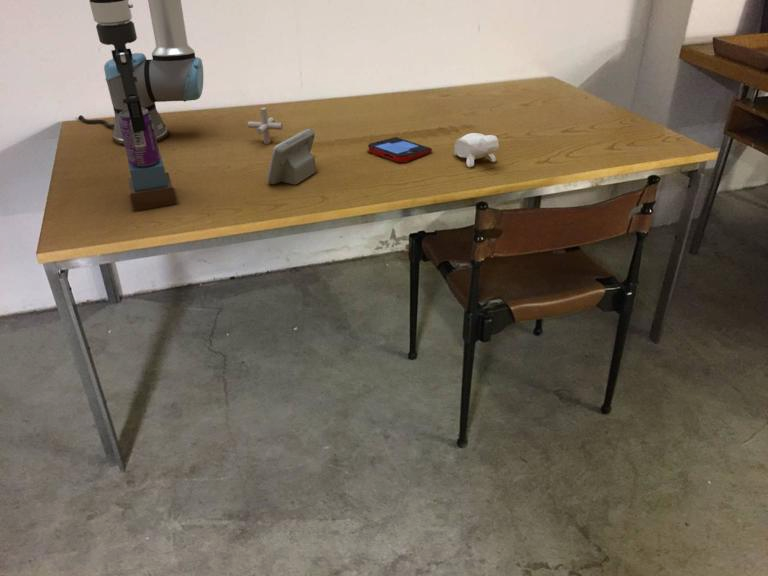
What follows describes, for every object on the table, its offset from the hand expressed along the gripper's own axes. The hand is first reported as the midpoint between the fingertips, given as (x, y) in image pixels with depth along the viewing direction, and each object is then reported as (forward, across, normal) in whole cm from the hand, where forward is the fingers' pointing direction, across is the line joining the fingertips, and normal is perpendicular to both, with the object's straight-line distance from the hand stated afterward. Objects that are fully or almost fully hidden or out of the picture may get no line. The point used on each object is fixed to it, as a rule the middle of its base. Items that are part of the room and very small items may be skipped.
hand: (137, 121), depth 145 cm
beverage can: (+10, -2, 0) cm, 10 cm away
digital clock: (+19, -2, -34) cm, 39 cm away
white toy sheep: (+19, -12, -82) cm, 85 cm away
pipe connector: (+20, +26, -34) cm, 47 cm away
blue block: (+14, -2, 0) cm, 14 cm away
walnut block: (+19, -2, 0) cm, 19 cm away
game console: (+19, +3, -66) cm, 69 cm away
